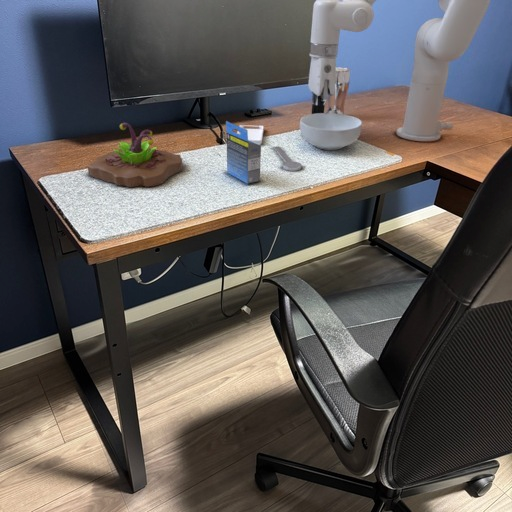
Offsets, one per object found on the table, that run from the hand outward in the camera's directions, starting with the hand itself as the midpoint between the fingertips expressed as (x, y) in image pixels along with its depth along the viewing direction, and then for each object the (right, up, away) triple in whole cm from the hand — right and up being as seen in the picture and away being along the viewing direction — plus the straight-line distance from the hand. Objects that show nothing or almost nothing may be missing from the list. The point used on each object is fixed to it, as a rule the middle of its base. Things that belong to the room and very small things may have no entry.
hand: (317, 118), depth 141 cm
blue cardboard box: (-21, -22, -28) cm, 41 cm away
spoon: (-10, -15, -17) cm, 25 cm away
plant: (-46, -20, -26) cm, 56 cm away
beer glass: (+9, +7, +22) cm, 25 cm away
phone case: (-20, -6, 0) cm, 20 cm away
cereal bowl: (+2, -9, -6) cm, 12 cm away
